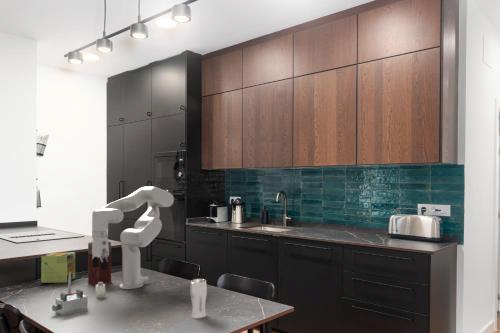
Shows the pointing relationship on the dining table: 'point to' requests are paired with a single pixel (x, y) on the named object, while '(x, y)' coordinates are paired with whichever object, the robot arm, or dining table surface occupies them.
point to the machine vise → (71, 303)
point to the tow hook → (69, 286)
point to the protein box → (57, 267)
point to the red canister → (98, 268)
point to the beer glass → (198, 297)
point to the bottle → (100, 290)
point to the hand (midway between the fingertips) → (99, 268)
